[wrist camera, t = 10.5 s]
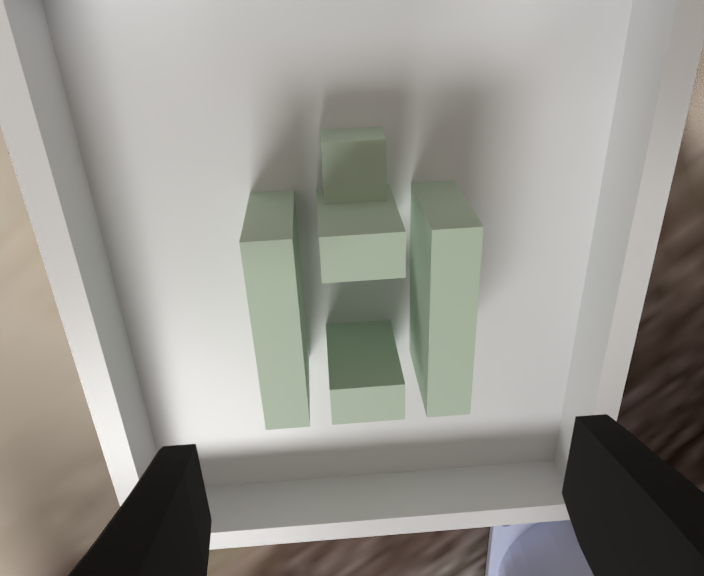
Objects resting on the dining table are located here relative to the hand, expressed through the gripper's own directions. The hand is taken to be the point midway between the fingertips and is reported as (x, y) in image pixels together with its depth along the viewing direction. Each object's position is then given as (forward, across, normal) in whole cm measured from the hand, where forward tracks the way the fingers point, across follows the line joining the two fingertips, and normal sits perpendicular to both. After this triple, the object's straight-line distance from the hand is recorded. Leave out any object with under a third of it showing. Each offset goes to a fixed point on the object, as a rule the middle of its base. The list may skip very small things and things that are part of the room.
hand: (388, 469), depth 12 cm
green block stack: (+8, 0, 0) cm, 8 cm away
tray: (+8, 0, 0) cm, 8 cm away
